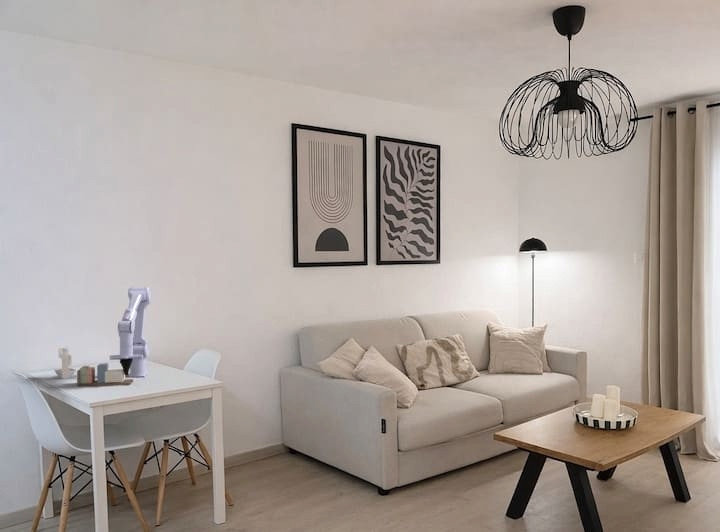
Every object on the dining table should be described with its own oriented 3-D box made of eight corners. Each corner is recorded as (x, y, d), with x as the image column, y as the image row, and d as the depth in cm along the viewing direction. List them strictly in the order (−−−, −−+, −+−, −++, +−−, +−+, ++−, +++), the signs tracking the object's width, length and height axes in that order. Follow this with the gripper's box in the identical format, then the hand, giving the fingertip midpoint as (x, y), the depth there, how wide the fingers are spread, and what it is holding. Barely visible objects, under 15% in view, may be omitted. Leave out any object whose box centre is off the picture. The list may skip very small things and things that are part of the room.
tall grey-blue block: (100, 380, 292) (100, 363, 291) (108, 380, 292) (108, 363, 292) (97, 383, 286) (97, 365, 286) (105, 382, 286) (105, 365, 286)
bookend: (108, 379, 293) (108, 368, 292) (125, 378, 294) (125, 368, 294) (104, 382, 286) (104, 371, 286) (121, 382, 287) (121, 371, 287)
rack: (82, 382, 291) (82, 365, 291) (133, 381, 295) (133, 364, 295) (77, 386, 283) (77, 368, 283) (129, 384, 287) (129, 367, 287)
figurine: (62, 379, 297) (62, 348, 296) (53, 377, 302) (52, 346, 302) (77, 377, 302) (76, 346, 302) (67, 374, 308) (67, 344, 308)
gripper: (108, 347, 285) (108, 377, 285) (140, 347, 287) (141, 376, 288) (111, 345, 292) (111, 373, 292) (143, 344, 294) (143, 373, 295)
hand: (126, 374), depth 290 cm, fingers closed
